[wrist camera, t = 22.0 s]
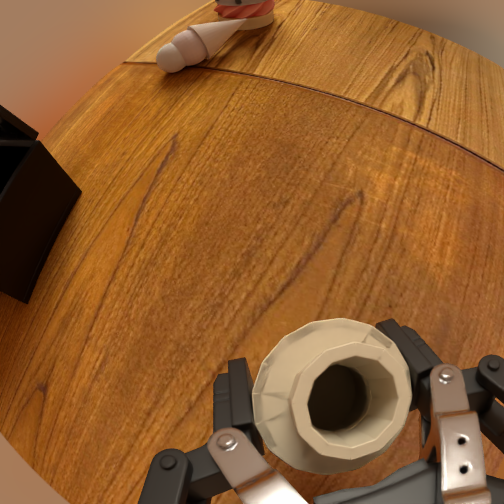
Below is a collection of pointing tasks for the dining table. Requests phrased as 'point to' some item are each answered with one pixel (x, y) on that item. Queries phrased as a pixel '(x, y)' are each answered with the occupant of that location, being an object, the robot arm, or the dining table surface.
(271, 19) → the cake
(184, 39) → the ice cream cone
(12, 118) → the bin lid
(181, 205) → the dining table surface
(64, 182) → the bin
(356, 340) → the bottle
